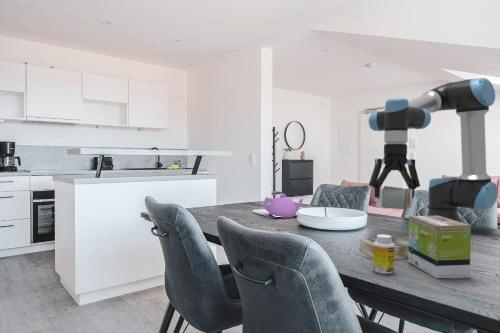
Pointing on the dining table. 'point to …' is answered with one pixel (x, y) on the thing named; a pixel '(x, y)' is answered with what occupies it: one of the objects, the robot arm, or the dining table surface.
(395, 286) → the dining table surface
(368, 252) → the dock
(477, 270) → the dining table surface
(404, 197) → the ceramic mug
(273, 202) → the teapot
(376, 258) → the supplement bottle
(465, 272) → the tea box
